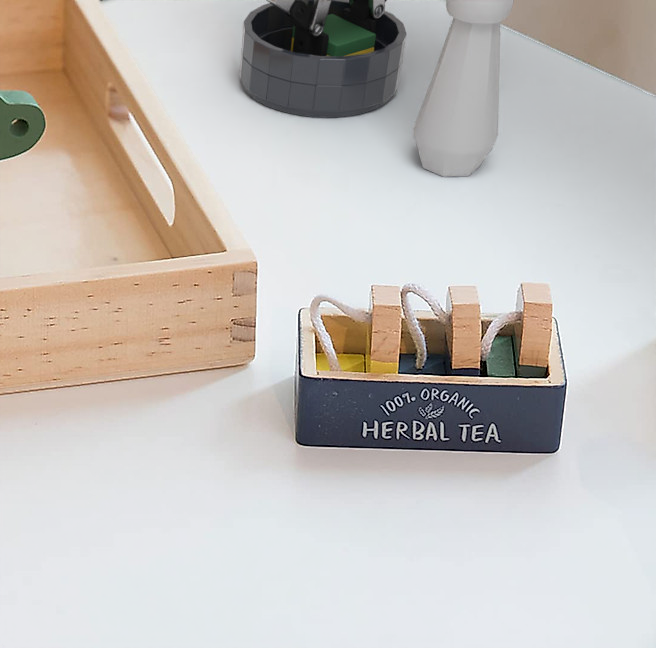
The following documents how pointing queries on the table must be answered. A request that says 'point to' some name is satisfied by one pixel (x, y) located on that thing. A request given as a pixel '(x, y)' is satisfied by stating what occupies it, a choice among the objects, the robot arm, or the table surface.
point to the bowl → (318, 67)
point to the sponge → (346, 38)
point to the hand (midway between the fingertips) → (330, 70)
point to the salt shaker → (463, 91)
